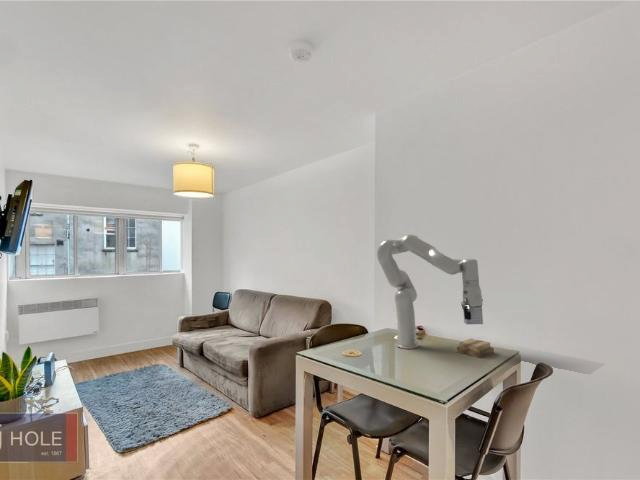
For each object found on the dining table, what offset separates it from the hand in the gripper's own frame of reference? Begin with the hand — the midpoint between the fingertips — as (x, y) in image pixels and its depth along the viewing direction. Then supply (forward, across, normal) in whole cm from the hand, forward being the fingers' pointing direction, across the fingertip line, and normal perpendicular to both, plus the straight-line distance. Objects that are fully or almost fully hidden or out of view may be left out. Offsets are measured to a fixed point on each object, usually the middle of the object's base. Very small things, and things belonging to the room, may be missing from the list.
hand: (473, 317), depth 161 cm
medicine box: (+3, 0, 0) cm, 3 cm away
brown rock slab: (+17, 0, 0) cm, 17 cm away
